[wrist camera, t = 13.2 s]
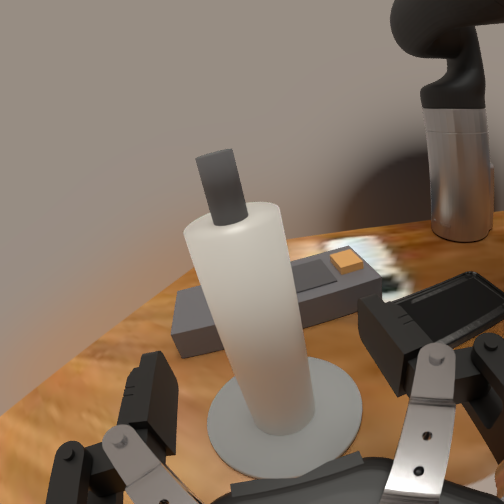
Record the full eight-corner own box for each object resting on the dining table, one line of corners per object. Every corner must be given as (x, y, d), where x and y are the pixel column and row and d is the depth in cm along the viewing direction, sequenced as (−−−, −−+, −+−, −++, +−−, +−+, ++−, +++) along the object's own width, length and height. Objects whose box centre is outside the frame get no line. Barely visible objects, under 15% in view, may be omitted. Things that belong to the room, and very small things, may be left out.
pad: (333, 346, 25) (332, 341, 25) (385, 449, 15) (387, 444, 15) (207, 379, 25) (205, 374, 24) (213, 494, 15) (211, 491, 14)
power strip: (350, 268, 36) (348, 239, 34) (382, 302, 28) (381, 269, 27) (186, 312, 35) (175, 285, 34) (182, 358, 28) (167, 327, 26)
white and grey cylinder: (306, 380, 22) (256, 139, 15) (322, 424, 18) (274, 143, 11) (249, 395, 21) (170, 162, 15) (257, 442, 17) (155, 175, 11)
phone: (518, 304, 20) (393, 370, 20) (516, 313, 21) (391, 379, 20) (471, 268, 27) (354, 313, 27) (470, 277, 28) (354, 322, 27)
